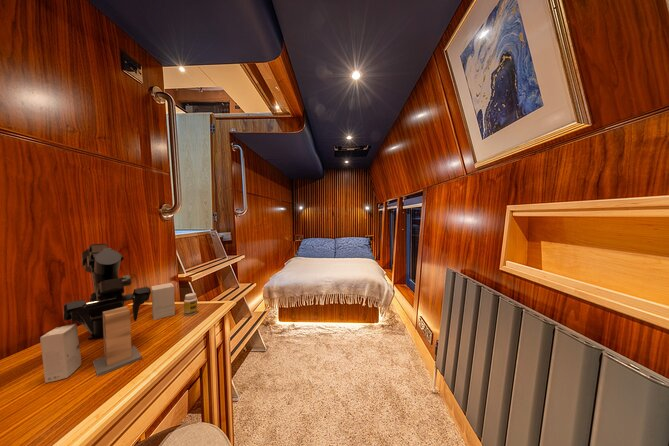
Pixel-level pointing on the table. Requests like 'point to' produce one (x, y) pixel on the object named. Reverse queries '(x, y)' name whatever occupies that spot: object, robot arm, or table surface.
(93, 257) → the robot arm
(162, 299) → the supplement box
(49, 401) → the table surface
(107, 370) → the slate coaster
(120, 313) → the oak block
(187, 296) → the supplement bottle
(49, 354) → the skincare box
